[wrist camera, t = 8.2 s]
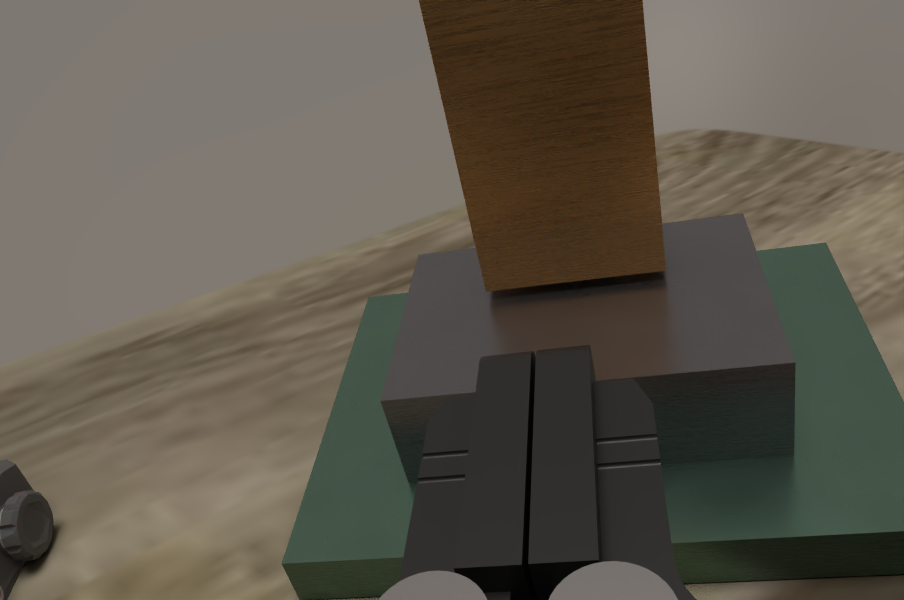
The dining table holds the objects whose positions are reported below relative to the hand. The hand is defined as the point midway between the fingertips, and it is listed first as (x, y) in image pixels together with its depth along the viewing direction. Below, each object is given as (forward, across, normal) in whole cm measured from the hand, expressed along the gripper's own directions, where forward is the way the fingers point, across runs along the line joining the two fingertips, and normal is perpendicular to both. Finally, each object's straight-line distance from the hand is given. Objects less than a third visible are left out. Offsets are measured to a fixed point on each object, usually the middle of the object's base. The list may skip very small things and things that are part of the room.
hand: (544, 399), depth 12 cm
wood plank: (+15, 0, +5) cm, 16 cm away
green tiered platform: (+10, 0, +10) cm, 15 cm away
